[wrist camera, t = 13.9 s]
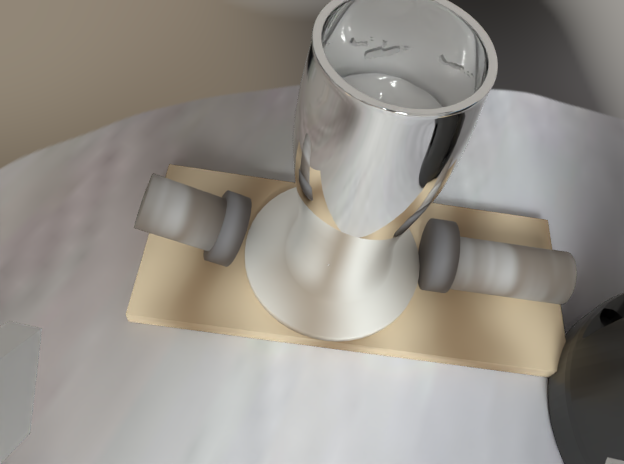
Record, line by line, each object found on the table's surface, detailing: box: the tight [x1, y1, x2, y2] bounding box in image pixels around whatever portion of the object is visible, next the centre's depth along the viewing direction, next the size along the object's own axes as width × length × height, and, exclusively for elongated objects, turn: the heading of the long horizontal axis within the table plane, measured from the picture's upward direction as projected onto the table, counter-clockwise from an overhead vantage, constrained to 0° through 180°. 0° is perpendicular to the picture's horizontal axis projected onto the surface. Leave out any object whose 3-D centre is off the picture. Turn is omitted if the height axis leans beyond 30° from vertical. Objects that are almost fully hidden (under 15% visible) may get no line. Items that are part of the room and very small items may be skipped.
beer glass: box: [285, 0, 498, 303], centre depth 26 cm, size 7×7×15 cm
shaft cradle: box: [126, 164, 577, 377], centre depth 31 cm, size 24×10×6 cm, turn 84°
